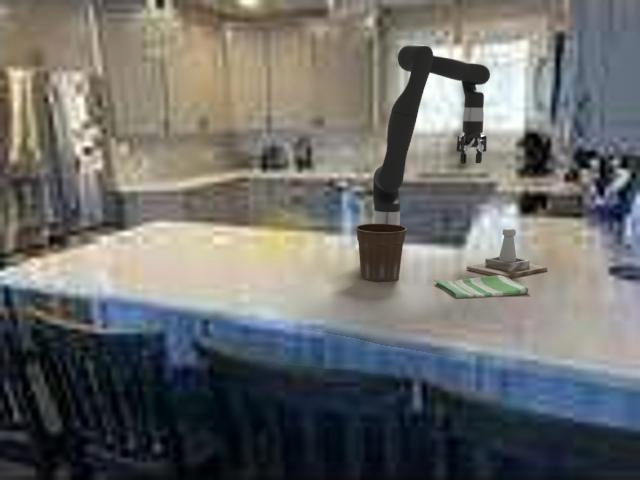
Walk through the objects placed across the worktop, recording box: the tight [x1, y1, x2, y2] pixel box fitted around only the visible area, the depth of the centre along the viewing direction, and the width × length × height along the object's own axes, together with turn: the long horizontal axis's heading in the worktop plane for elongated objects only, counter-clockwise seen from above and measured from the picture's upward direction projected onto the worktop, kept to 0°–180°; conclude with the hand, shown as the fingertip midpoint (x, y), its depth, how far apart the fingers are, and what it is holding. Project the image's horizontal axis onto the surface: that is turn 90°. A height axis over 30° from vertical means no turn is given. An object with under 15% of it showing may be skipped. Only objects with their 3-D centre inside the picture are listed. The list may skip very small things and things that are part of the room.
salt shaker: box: [498, 227, 517, 263], centre depth 235 cm, size 6×6×13 cm
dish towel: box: [433, 275, 531, 299], centre depth 210 cm, size 18×23×3 cm
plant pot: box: [354, 223, 408, 283], centre depth 222 cm, size 16×16×16 cm
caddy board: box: [466, 256, 548, 279], centre depth 236 cm, size 22×16×4 cm
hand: (470, 163), depth 267 cm, fingers open, 8 cm apart
